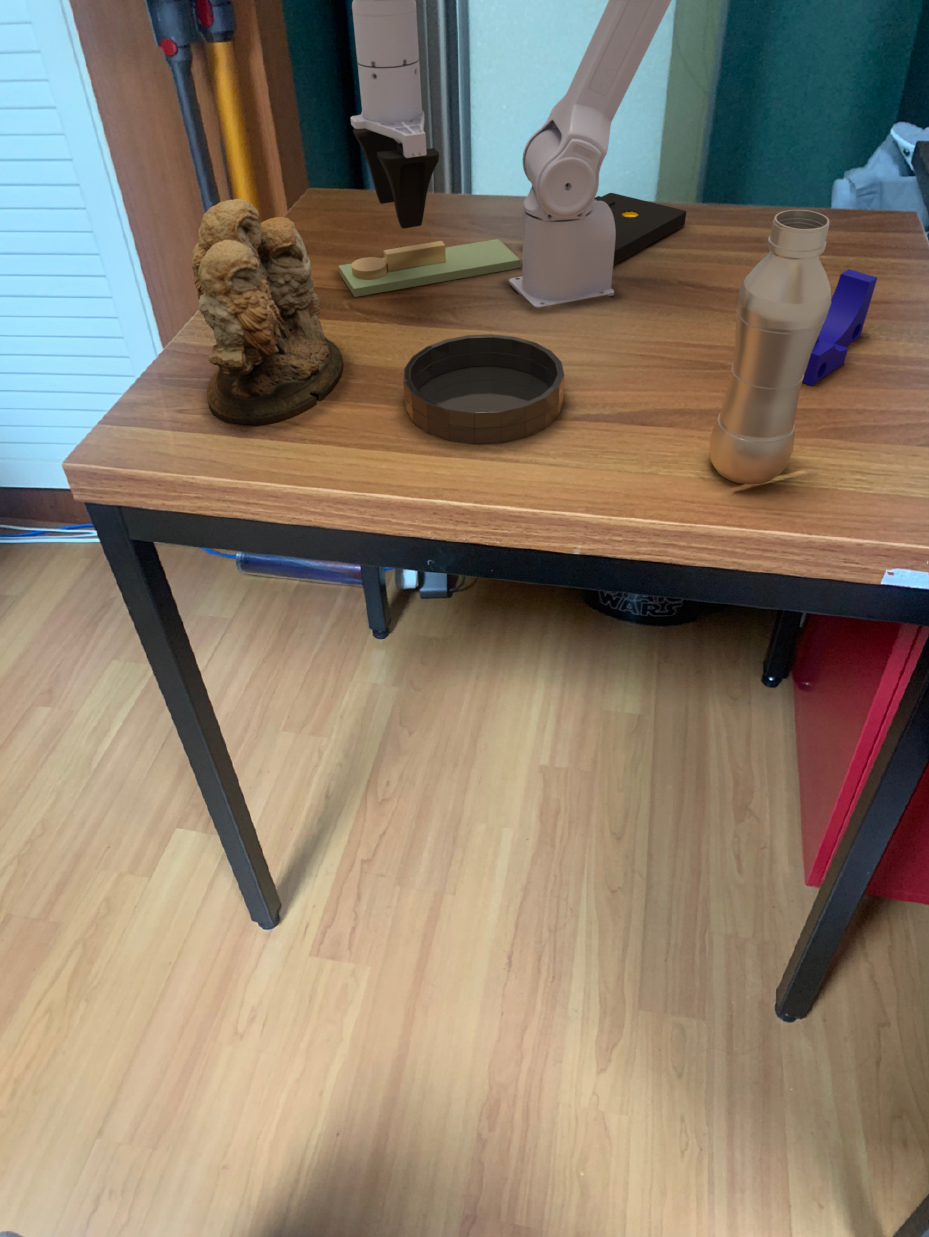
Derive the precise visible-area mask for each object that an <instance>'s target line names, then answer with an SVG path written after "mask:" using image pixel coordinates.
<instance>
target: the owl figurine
mask: <svg viewBox="0 0 929 1237" xmlns="http://www.w3.org/2000/svg"><path fill="white" fill-rule="evenodd" d="M197 235H198V237H197V238H198V239H197V240H198V241H197V243H196V244H195V246H194V248H193V249H192V253H191V260H192V261H191V268H192V272H193V277H194V278H193V283H194V285H195V289H196V291H197V298H198V302H197V304H198V310H199V312H200V314H201V315H203V318H204V321H205V323H206V324H207V325H208V327H209V328H211V329H212V331H213V338H214V339H215V343H216V344H214V345H213V346H212V349H211V351H212V352H211V353H210V354H209V355H208V361H209V363H210V364H212V365H214V366H217V367H218V369H217V370H216V372H214V373H213V376H212V377H211V379H210V381H209V383H208V387H207V391H206V398H207V403H208V407H209V409H210V412H211V413H212V415H213V416H214V417H216V418H217V419H218V418H219V419H220V420H221V421H223V422H224V423H226V424H227V423H230V424H232V423H233V424H243V425H246V424H247V425H252V426H257V427H259V426H267V425H273V424H278V423H280V422H284V421H288V420H290V419H293V418H295V417H297V416H299V415H301V414H303V413H305V412H307V411H308V410H310V409H313V408H314V407H315V406H316V405H317V404H318V402H322V401H323V400H324V399H326V397H328V395H329V394H331V392H332V391H334V389H335V387H336V386H337V384H338V383H339V381H340V379H341V378H342V374H343V371H344V359H343V355H342V352H341V350H340V348H339V347H338V346H337V345H336V344H335V343H334V342H333V341H332V340H329V339H328V338H327V337H326V336H325V334H324V330H323V326H322V323H321V320H320V313H321V311H320V310H321V304H322V301H321V297H320V295H319V294H317V293H315V292H314V289H315V288H314V278H313V277H312V274H313V271H312V268H311V267H312V266H311V260H310V257H309V256H308V254H307V253H308V251H307V249H306V246H305V245H306V244H304V241H303V238H302V237H301V234H300V233H299V231H298V229H297V227H296V226H295V222H294V221H292V220H291V219H290V218H288V217H283V216H275V217H271V218H268V219H266V220H263V221H262V222H261V215H260V213H259V211H258V210H257V208H256V206H255V205H254V204H252V203H251V202H250V201H247V200H245V199H244V198H234V199H229V200H222V201H219V202H217V204H215V205H212V206H210V207H209V208H208V209H207V210H206V211H205V213H203V215H202V219H201V223H200V226H199V229H198V231H197ZM259 365H260V366H259ZM257 366H258V367H257ZM311 393H312V394H317V395H318V399H317V397H316V396H314V395H312V394H311Z"/></svg>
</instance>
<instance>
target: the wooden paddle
mask: <svg viewBox="0 0 929 1237" xmlns="http://www.w3.org/2000/svg"><path fill="white" fill-rule="evenodd" d="M445 248H446V244H445V243H444V242H443V241H442V240H438V241H431V242H425V243H419V244H413V245H407V246H400V247H396V248H388V249H383V258H384V259H381V258H382V257H376V256H367V257H362V258H361V257H360V258H358V259H355V260H354V261H353V262H351V263H352V265H351V267H352V274H353V276H354V277H356V278H358V279H364V280H371V279H377V278H380V277H383V276H384V275H386V274H387V270H388V272H389V271H395V270H401V269H407V268H413V267H419V266H424V265H430V264H436V263H442V262H446V252H445Z"/></svg>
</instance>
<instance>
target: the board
mask: <svg viewBox="0 0 929 1237" xmlns="http://www.w3.org/2000/svg"><path fill="white" fill-rule="evenodd" d="M445 252H446V262H442V263H436V264H430V265H424V266H419V267H413V268H407V269H401V270H395V271H389V272H388V270H387V274H386V275H384V276H383V277H380V278H377V279H371V280H364V279H358V278H356V277H354V276H353V274H352V267H351V265H352V263H353V262H351V263H345V264H339V265H338V273H339V276H340V277H341V278H342V280H343V281H344V283H345V285H346V286H347V288H348V289H349V291H350V292H351V294H352V296H353V297H354V298H357V297H363V296H369V295H374V294H380V293H387V292H391V291H392V292H393V291H396V290H397V291H398V290H404V289H409V288H414V287H420V286H426V285H430V284H431V285H432V284H437V283H443V282H449V281H454V280H460V279H464V278H471V277H476V276H481V275H482V276H483V275H487V274H488V275H489V274H494V273H500V272H504V271H510V270H516V269H520V268H521V259H520V258H519V257H518V256H517V254H515V253H514V252H513V251H512V250H511V249H510V248H508V246H506V245H505V243H503V241H501V240H500V239H499V238H496V239H489V240H482V241H476V242H471V243H465V244H459V245H458V244H457V245H453V246H447V247H446V246H445ZM380 258H381V259H384V257H380Z"/></svg>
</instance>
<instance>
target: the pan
mask: <svg viewBox="0 0 929 1237" xmlns="http://www.w3.org/2000/svg"><path fill="white" fill-rule="evenodd" d="M403 389H404V390H403V391H404V403H405V411H406V413H407V414H408V416H409V418H410V419H411V421H412V423H413V424H415V426H417V427H418V428H419V429H421V430H422V431H424V432H426V433H428V434H430V435H432V436H433V437H436V438H440V439H443V440H446V441H449V442H454V443H455V442H456V443H461V444H469V445H493V444H494V445H495V444H502V443H508V442H513V441H518V440H521V439H525V438H528V437H530V436H533V435H535V434H536V433H539V432H541V431H542V430H544V429H545V428H547V427H548V426H550V425H551V424H552V423H553V422H554V421H555V420H556V419H557V418H558V417H559V415H560V412H561V410H562V407H563V404H564V390H565V370H564V366H563V362H562V361H561V360H560V359H559V357H558V356H557V355H556V354H555V353H554V352H553V351H552V350H550V349H548V348H547V347H545V346H543V345H541V344H540V343H537V342H535V341H533V340H528V339H525V338H520V337H518V336H513V335H511V336H510V335H504V334H503V335H501V334H492V333H490V334H489V333H487V334H467V335H462V336H457V337H451V338H447V339H443V340H441V341H438V342H436V343H433V344H430V345H427V346H426V347H424V348H423V349H421V350H420V351H419V352H417V353H416V354H414V355H413V356H412V357H410V359H409V361H408V362H407V363H406V365H405V366H404V368H403Z"/></svg>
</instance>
